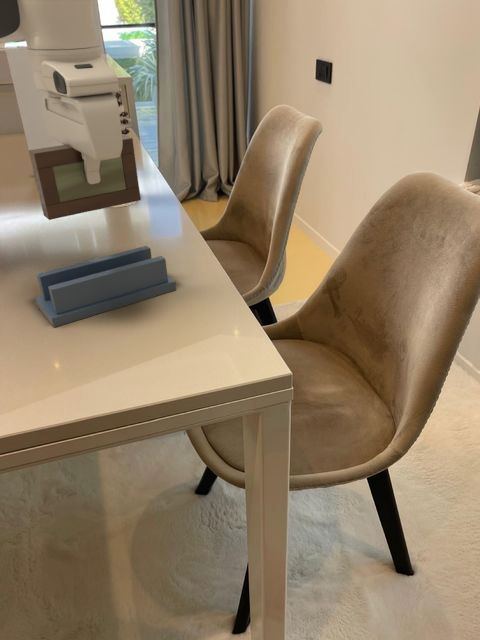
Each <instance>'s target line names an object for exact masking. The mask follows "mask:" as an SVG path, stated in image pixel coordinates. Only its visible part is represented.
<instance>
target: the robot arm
mask: <svg viewBox="0 0 480 640" xmlns="http://www.w3.org/2000/svg"><path fill="white" fill-rule="evenodd" d="M94 10H95V6H94V0H0V44H7V43H22V42H25V43H26V46H27V48H28V53H29V58H30V63H31V67H32V72H33V76H34V81H35V86H36V89H38V90H39V94H40V101H41V108H42V114H43V119H44V124H45V128H46V131H47V133H48V135H49V136H51V137H53V138H54V139H56V140H58V141H60V142H62V143H64V144H66V145H69V146H71V147H73V148H74V149H75V150H77V151H79V152H81V154H82V159H84V168H85V170H83V173H84V179H85V181H86V182H88V183H89V184H96V183H99V182H100V174H99V167H100V161H101V160H108V159H113V158H118V157H120V155H121V152H122V145H123V144H122V131H121V121H120V113H119V107H118V103H117V99H116V97H115V96H114V94H113V93H114V92H118V91H119V89H120V85H119V78H118V75H117V73H116V72H115V71H114V70H113V69H112V68H111V67H110V66H109V65H108V64H107V62H106V60H105V58H104V57H103V56H102V51H101V44H100V40H99V38H98V35H97V33H96V30H95V26H94Z"/></svg>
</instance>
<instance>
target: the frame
mask: <svg viewBox="0 0 480 640" xmlns="http://www.w3.org/2000/svg"><path fill="white" fill-rule="evenodd" d="M122 144H123V145H122V152H121V155H120V157H118V158H113V159H108V160H101V161H100V167H99V174H100V182H99V183H96V184H89V183H88V182H86V181H85V179H84V173H83V170H85V168H84V159H82V154H81V152H79V151H77V150H75V149H74V148H73V147H71V146H69V145H60V146H54V147H47V148H41V149H34V150H29V149H28V153H29V154H28V155H29V158H30V163H31V168H32V172H33V175H34V180H35V183H36V189H37V192H38V196H39V201H40V205H41V209H42V214H43V216H44V217H45V218H46V219H47V220H49V221H51V220H55V219H56V220H57V219H60V218H65V217H69V216H74V215H78V214H84V213H87V212H88V213H89V212H92V211H97V210H102V209H107V208H113V207H112V206H116V205H121V204H126V203H130V202H135V201H137V202H139V201H141V200H142V199H141V191H140V185H139V178H138V177H139V176H138V170H137V163H136V157H135V156H136V155H135V148H134V147H135V146H134V139H133V138H132V137H130V136H128V135H126V136H122Z"/></svg>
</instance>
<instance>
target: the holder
mask: <svg viewBox="0 0 480 640" xmlns="http://www.w3.org/2000/svg"><path fill="white" fill-rule="evenodd" d="M36 277H37V281H38V285H39V289H40V292H41V293H40V294H41V295H40V296H37V297H35V298H34V301H35V305H36V307H37V309H38V310H39V311H40V312H41V313H42V315H43V316H44V318H45V319H46V320H47V321H48V322H49V324H51V326H52V327H53V328H57V327H60V326H64V325H66V324H70V323H73V322H76V321H79V320H83V319H87V318H89V317H92V316H96V315H99V314H102V313H105V312H108V311H113V310H115V309H118V308H122V307H125V306H128V305H131V304H134V303H138V302H141V301H144V300H148V299H151V298H154V297H158V296H160V295H164V294H167V293H170V292H173V291H176V290H177V283H176V280H175V279H173V278H172V277H170V276H169V275H168V269H167V261H166V258H165V257H164V256H162V255H159V256H155V257H152V250H151V247H149V246H148V245H142V246H139V247H135V248H131V249H128V250H124V251H120V252H116V253H112V254H108V255H104V256H101V257H97V258H93V259H89V260H84V261H81V262H76V263H73V264H69V265H66V266H62V267H57V268H54V269H49V270H46V271H42V272H37V273H36Z"/></svg>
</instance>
